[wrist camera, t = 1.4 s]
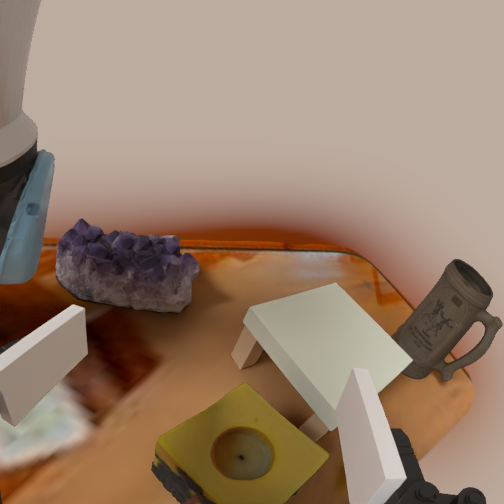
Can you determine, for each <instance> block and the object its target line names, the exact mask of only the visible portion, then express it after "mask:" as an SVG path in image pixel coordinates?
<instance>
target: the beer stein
mask: <svg viewBox="0 0 504 504" xmlns="http://www.w3.org/2000/svg"><path fill="white" fill-rule="evenodd" d="M492 297H493V292H492V290H491V288H490V286H489V285H488V284H487V282H486V281H485V280H484V278H483V277H482V276H481V275H480V274H479V273H478V272H477V271H476V270H475V269H474V268H473V267H471V266H470V265H468V264H467V263H465V262H464V261H462V260H459V259H455V260H453V261H452V262H451V263H450V264H448V265H447V267H446V268H445V271H444V273H443V274H442V276H441V278H440V279H439V281H438V282H437V284H436V285H435V286H434V288H433V289H432V290H431V291H430V293H429V294H428V295H427V296H426V298H425V299H424V300H423V301H422V302H421V304H420V305H419V306H418V307H417V308H416V310H415V311H414V312H413V313H412V314H411V316H410V317H409V318H408V319H407V320H406V322H405V323H404V324H402V325H401V326H400V327H399V328H398V330H397V332H396V333H394V334H393V335H392V336H391V338H392V339H393V340H394V341H395V342H396V343H397V344H398V345H399V346H400V347H401V348H402V349H403V350H404V351H405V352H406V353H407V354H408V355H409V356H410V357H411V359H412V360H413V361H412V362H411V363H410V364H409V365H408V366H407V367H406V368H405V369H404V370H403V371H402V373H403V374H405V375H407V376H408V377H410V378H414V379H422V378H424V377H426V376H427V375H428V374H429V373H430V372H431V370H432V369H436V370H437V371H439V372H440V373H441V376H442V380H443V381H444V382H445V381H448V380H450V379H451V378H452V375H453V373H454V372H455V371H456V370H458V369H460V368H462V367H465V366H467V365H470V364H472V363H474V362H475V361H477V360H478V359H479V358H481V357H482V356H483V355H484V354H485V353H486V351H487V350H488V348H489V347H490V345H491V343H492V341H493V339H494V337H495V334H496V333H497V331H498V330H499V329H500V328H501V327H502V325H503V324H502V322H501V320H500V319H499V318H498V317H493V316H492V315H490V314H489V313H488V312H487V311H486V308H487V307H488V306H489V304H490V301H491V299H492ZM476 321H480V322H482V324H483V325H484V326H485V333H484V336H483V338H482V339H481V341H480V342H479V343H478V344H477V345H476V346H475V347H474V348H473V349H472V350H471V351H470V352H468V353H467V354H466V355H464V356H462V357H460V358H459V359H457V360H455V361H453V362H450V363H446V362H445V361H444V358H445V357H446V356H447V355H448V353H449V352H450V351H451V350H452V349H453V348H454V347H455V345H456V344H457V343H458V342H459V340H460V339H461V338H462V337H463V336H464V335H465V333H466V332H467V331H468V330H469V329H470V327H471V326H472V325H473V323H474V322H476Z"/></svg>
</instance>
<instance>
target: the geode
mask: <svg viewBox="0 0 504 504" xmlns="http://www.w3.org/2000/svg"><path fill="white" fill-rule="evenodd" d="M179 242H180V239H179V237H178V236H174V235H173V236H164V237H159V236H158V235H148V236H143V235H138V236H137V235H135V234H134V233H129V232H121V231H120V232H118V231H116V230H115V231H113V232H112V233H110V234H104V233H103V230H101V228H100V227H98V226H91V225H89V224H88V223H87V222H85V221H84V220H83V219H80V220H79V221H78V222H77V223H76V224H75V226H74V227H73V228H72V229H70V230H69V231H67V232H66V234H64V235H63V236H62V239H60V240H59V242H58V244H57V260H56V266H55V267H56V278H57V281H58V282H59V284H60V285H61V286H62V287H64V288H65V289H66V290H67V291H68V292H69V293H71V294H72V295H73V296H74V297H76V298H77V299H80V300H87V301H93V302H98V303H106V304H111V305H115V306H121V307H126V308H127V307H133V308H134V309H135V310H140V309H147V310H149V311H157V312H170V311H171V312H176V313H180V312H181V311H182V310H183V309H184V308H186V307H187V306H188V305H189V304H190V303H191V298H192V287H191V284H192V282H193V280H194V279H195V278H196V277H197V276H198V275H199V273H200V267H199V263H198V261H197V260H196V259H195V258H194V257H193V256H192V255H191V254H190V253H185V254H184V255H182V254H181V253H180V246H179Z"/></svg>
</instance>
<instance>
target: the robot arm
mask: <svg viewBox="0 0 504 504" xmlns="http://www.w3.org/2000/svg"><path fill="white" fill-rule="evenodd" d="M40 2H41V0H0V284H23V283H25V282H27V281H29V280H30V279H31V278H32V277H33V276H34V274H35V272H36V270H37V267H38V263H39V258H40V253H41V248H42V242H43V236H44V229H45V223H46V217H47V211H48V205H49V199H50V193H51V187H52V181H53V174H54V160H55V159H54V155H53V154H52V153H49V152H46V151H45V150H41V151H38V152H37V134H38V133H37V126H36V124H35V123H34V122H33V120H32V119H30V118H29V117H28V116H27V115H26V114H25V113H24V112H23V110H22V101H23V90H24V83H25V75H26V68H27V62H28V56H29V50H30V45H31V40H32V35H33V31H34V26H35V22H36V18H37V14H38V10H39V6H40ZM87 354H88V349H87V337H86V321H85V308H83V307H80V306H77V305H74V304H73V305H71V306H70V307H68V308H67V309H65V310H64V311H62V312H61V313H59V314H58V315H56V316H55V317H53V318H52V319H50V320H49V321H47V322H46V323H45V324H43V325H42V326H40V327H39V328H37V329H36V330H34V331H33V332H32V333H30V334H29V335H27V336H26V337H24V338H23V339H17V340H14V341H11V342H9V343H7V344H6V345H5V346H3V348H0V414H1V416H2V419H4V420H5V421H7V422H8V423H10V424H11V425H13V426H14V427H15V426H16V425H17V424H18V423H19V422H20V421H21V420H22V419H23V418H24V417H25V416H26V415H27V414H28V413H29V412H30V411H31V410H32V408H33V407H34V406H35V405H36V404H37V403H38V402H39V401H40V400H41V399H42V398H43V397H44V396H45V395H46V394H47V393H48V392H49V391H50V390H51V389H52V388H53V387H54V386H55V385H56V384H57V383H58V382H59V381H60V380H61V379H62V378H63V377H64V376H65V375H66V374H67V373H68V372H70V371H71V370H72V369H73V368H74V367H75V366H76V365H77V364H78V363H79V362H80V361H81V360H82V359H83V358H84V357H85V356H86V355H87ZM335 414H336V419H337V425H338V431H339V437H340V443H341V449H342V455H343V461H344V468H345V474H346V481H347V488H348V495H349V503H350V504H486V499H485V496H484V495H483V493H482V492H481V491H479V490H478V489H476V488H470V487H468V488H465V489H463V490H462V491H461V492H460V493H459V494H458V495H450V494H442V493H439V490H438V489H437V488H436V486H434V485H433V484H431V483H429V482H426V481H425V480H424V478H423V475H422V472H421V469H420V467H419V464H418V461H417V459H416V456H415V455H414V451H413V448H411V443H410V441H409V438H408V436H407V435H406V434H405V433H404V432H403V431H402V430H401V429H392V428H390V427H389V424H388V421H387V419H386V416H385V413H384V410H383V408H382V405H381V402H380V400H379V397H378V394H377V392H376V389H375V386H374V384H373V381H372V379H371V376H370V373H369V371H368V369H363V368H354V367H353V368H352V371H351V373H350V376H349V378H348V381H347V383H346V386H345V388H344V391H343V393H342V396H341V398H340V400H339V403H338V405H337V407H336V410H335ZM0 504H2V500H1V492H0Z"/></svg>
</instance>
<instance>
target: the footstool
mask: <svg viewBox="0 0 504 504" xmlns="http://www.w3.org/2000/svg"><path fill="white" fill-rule="evenodd" d="M243 323H244V324H245V326H244V328H243V331H242V333H241V335H240V337H239V339H238V341H237V343H236V345H235V347H234V349H233V351H232V353H231V357H232V358H233V360H234V361H235V362H236V364H237V365H238V367H239V368H240V369H243V368H246V367H248V366H251V365H254V364H255V363H256V362H257V360H258V358H259V357H260V355H261V353H262V352H263V350H265V351H266V353H267V354H268V355H269V356H270V358H271V359H272V360H273V361H274V363H275V364H276V365H277V367H278V368H279V369H280V370H281V372H282V373H283V374H284V375H285V377H286V378H287V379H288V380H289V382H290V383H291V384H292V385H293V386H294V388H295V389H296V390H297V391H298V393H299V394H300V395H301V396H302V398H303V399H304V400H305V401H306V402H307V404H308V405H309V406H310V407H311V408H312V410H313V411H314V412H315V413H314V414H313V415H312V416H311V417H310V418H309V419H308V420H307V421H306V422H305V423H304V424H303V425H301V426H300V427H299V428H298V429H299V430H300V431H301V432H303V433H304V434H305V435H306V436H308V437H309V438H310V439H311V440H313V441H314V442H316V441H317V440H318V439H320V438H321V437H322V436H323V435H325V434H326V433H327V432H328V431H333V430H334V429H335V428H336V427H338V425H337V419H336V414H335V410H336V407H337V405H338V403H339V400H340V398H341V396H342V393H343V391H344V388H345V386H346V383H347V381H348V378H349V376H350V373H351V371H352V368H353V367H354V368H363V369H368V371H369V373H370V376H371V379H372V381H373V384H374V386H375V389H376V392H377V394H378V393H379V392H380V391H381V390H383V389H384V388H385V387H386V386H387V385H388V384H389V383H390V382H391V381H393V380H394V379H395V378H396V377H397V376H398V375H399V374H400V373H401V372H402V371H403V370H404V369H405V368H406V367H407V366H408V365H409V364H410V363H411V362H412V361H413V360H412V359H411V357H410V356H409V355H408V354H407V353H406V352H405V351H404V350H403V349H402V348H401V347H400V346H399V345H398V344H397V343H396V342H395V341H394V340H393V339H392V338H391V337H390V336H389V335H388V334H387V333H386V332H385V331H384V330H383V329H382V328H381V327H380V326H379V325H378V324H377V323H376V322H375V321H374V320H373V319H372V318H371V317H370V316H369V315H368V314H367V313H366V312H365V311H364V310H363V309H362V308H361V307H360V306H359V305H358V304H357V303H356V302H355V301H354V300H353V299H352V298H351V297H350V296H349V295H348V294H347V293H346V292H345V291H344V290H343V289H342V288H341V287H340V286H339V285H338V284H337V283H336V282H335V283H332V284H329V285H325V286H322V287H319V288H315V289H312V290H308V291H305V292H301V293H298V294H294V295H291V296H287V297H284V298H280V299H276V300H273V301H269V302H265V303H262V304H258V305H254V306H250V307H249V309H248V311H247V313H246V316H245V318H244V320H243Z"/></svg>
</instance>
